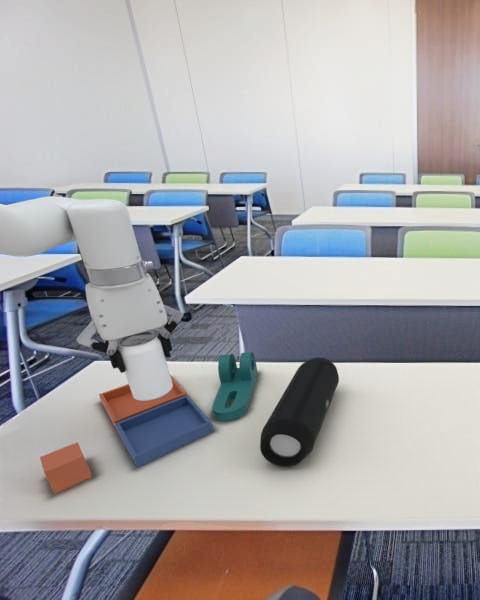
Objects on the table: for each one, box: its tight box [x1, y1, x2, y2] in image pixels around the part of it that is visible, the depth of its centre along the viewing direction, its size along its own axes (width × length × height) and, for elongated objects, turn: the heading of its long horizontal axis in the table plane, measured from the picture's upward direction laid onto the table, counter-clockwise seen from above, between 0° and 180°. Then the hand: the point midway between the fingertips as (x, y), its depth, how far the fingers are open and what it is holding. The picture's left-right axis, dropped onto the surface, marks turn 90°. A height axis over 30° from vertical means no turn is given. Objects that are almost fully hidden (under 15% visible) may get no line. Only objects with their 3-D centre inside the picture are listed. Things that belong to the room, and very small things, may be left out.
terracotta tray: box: [98, 374, 188, 431], centre depth 90 cm, size 13×13×2 cm
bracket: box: [211, 351, 259, 422], centre depth 92 cm, size 18×7×8 cm, turn 16°
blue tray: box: [115, 394, 214, 468], centre depth 82 cm, size 13×13×2 cm
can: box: [117, 331, 173, 401], centre depth 76 cm, size 6×6×12 cm
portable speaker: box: [259, 357, 340, 468], centre depth 84 cm, size 26×10×10 cm, turn 2°
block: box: [39, 441, 93, 495], centre depth 70 cm, size 5×5×5 cm
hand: (144, 361), depth 75 cm, fingers closed on can, 6 cm apart
